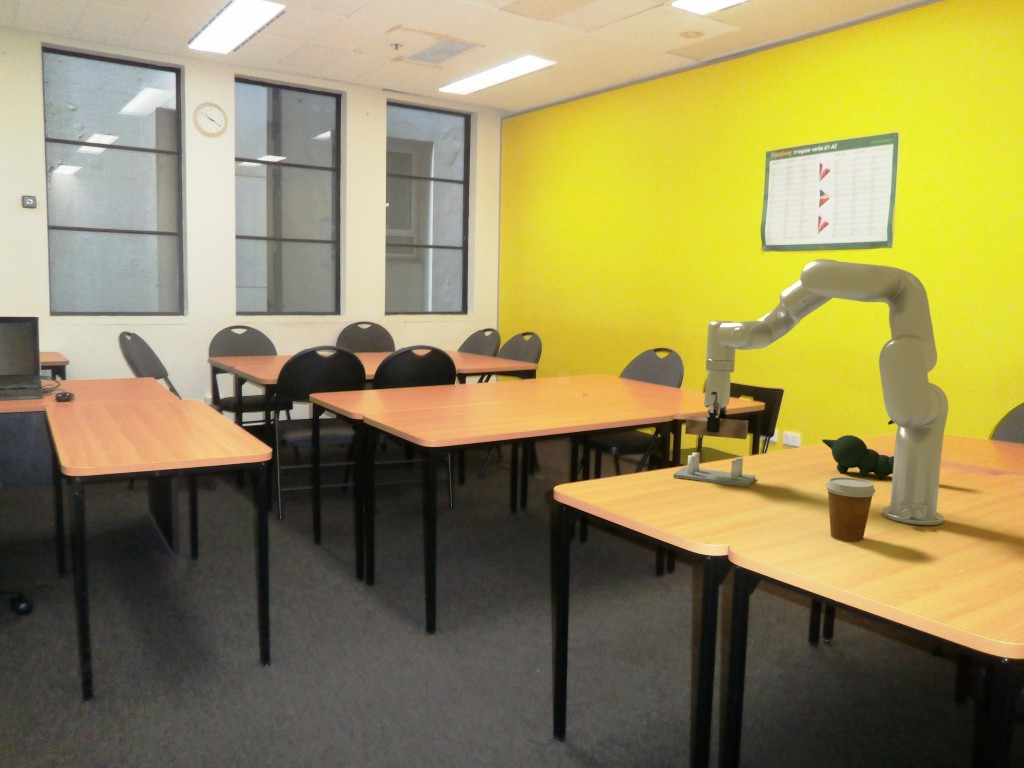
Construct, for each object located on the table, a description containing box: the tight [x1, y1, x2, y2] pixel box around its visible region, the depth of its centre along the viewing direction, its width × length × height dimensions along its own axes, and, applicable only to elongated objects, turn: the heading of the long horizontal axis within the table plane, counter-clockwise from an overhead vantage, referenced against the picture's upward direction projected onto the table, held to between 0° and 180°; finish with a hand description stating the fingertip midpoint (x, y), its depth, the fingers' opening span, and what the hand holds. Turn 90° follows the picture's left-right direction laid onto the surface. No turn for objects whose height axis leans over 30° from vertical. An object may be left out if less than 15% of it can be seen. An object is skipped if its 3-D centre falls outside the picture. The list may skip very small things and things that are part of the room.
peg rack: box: [673, 452, 756, 488], centre depth 211 cm, size 11×20×6 cm, turn 62°
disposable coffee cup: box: [825, 476, 876, 543], centre depth 160 cm, size 10×10×12 cm
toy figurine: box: [821, 419, 895, 480], centre depth 218 cm, size 9×19×25 cm
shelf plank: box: [684, 415, 749, 440], centre depth 210 cm, size 16×7×4 cm, turn 69°
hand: (716, 429), depth 210 cm, fingers closed on shelf plank, 7 cm apart
